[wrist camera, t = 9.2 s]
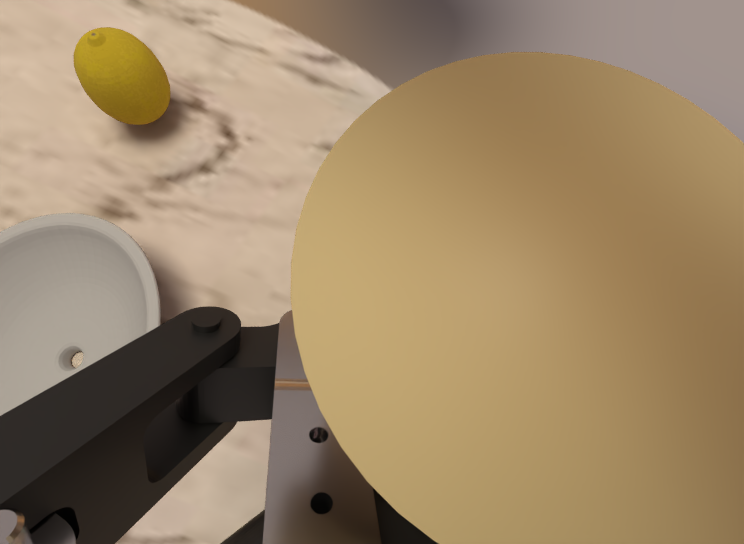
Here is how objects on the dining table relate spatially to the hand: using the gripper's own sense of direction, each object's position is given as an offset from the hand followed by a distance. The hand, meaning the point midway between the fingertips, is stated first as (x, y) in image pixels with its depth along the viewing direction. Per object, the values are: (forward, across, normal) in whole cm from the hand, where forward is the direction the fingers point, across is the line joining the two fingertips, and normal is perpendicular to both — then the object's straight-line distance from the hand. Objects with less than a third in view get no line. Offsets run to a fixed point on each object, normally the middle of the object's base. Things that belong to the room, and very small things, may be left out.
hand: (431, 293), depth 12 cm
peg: (+3, 0, -6) cm, 7 cm away
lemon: (+23, -23, -2) cm, 33 cm away
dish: (+9, -20, -16) cm, 28 cm away
